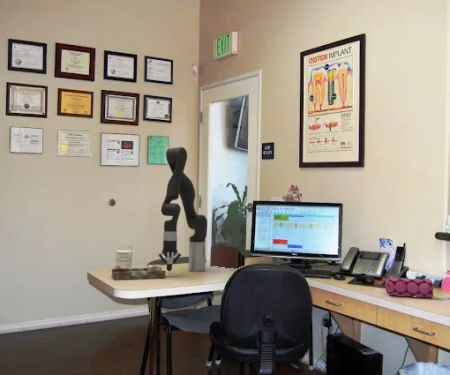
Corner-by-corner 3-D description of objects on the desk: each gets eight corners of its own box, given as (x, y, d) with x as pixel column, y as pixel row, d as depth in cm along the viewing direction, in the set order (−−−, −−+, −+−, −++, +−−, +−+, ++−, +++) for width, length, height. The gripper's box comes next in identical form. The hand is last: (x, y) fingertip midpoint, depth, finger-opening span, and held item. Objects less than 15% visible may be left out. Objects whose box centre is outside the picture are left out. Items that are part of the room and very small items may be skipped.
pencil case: (387, 297, 231) (388, 276, 231) (384, 293, 241) (384, 273, 241) (435, 300, 228) (435, 279, 228) (429, 296, 237) (430, 275, 237)
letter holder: (237, 270, 298) (237, 246, 298) (209, 266, 308) (210, 244, 308) (245, 267, 306) (245, 245, 306) (218, 264, 317) (218, 242, 317)
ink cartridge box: (114, 271, 281) (115, 245, 281) (117, 270, 286) (118, 244, 286) (129, 272, 280) (130, 246, 280) (131, 270, 285) (132, 245, 285)
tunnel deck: (160, 274, 275) (161, 267, 275) (165, 278, 264) (165, 271, 264) (111, 276, 267) (112, 268, 267) (114, 280, 255) (114, 272, 255)
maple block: (158, 271, 272) (158, 264, 272) (160, 273, 266) (160, 266, 266) (147, 272, 270) (147, 265, 270) (149, 274, 264) (149, 266, 264)
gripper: (180, 238, 276) (179, 269, 276) (156, 238, 272) (156, 270, 272) (183, 240, 269) (182, 271, 269) (159, 240, 265) (158, 272, 265)
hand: (169, 270), depth 270 cm, fingers closed
